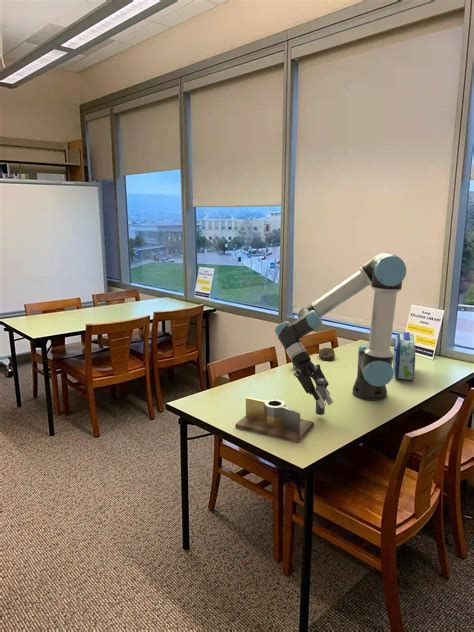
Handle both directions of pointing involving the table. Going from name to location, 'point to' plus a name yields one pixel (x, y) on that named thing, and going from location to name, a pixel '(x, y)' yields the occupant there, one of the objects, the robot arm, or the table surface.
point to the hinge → (273, 414)
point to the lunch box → (404, 356)
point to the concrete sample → (327, 354)
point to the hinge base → (274, 429)
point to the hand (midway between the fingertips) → (327, 405)
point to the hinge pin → (321, 388)
